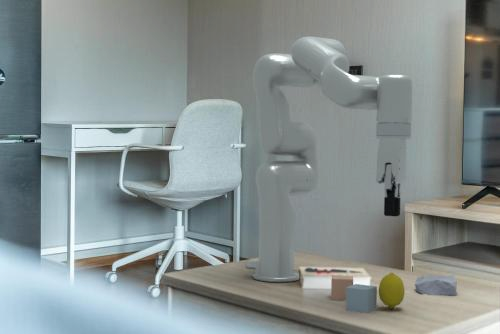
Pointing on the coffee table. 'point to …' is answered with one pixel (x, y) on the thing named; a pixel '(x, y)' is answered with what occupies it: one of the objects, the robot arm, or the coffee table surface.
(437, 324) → the coffee table surface
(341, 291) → the terracotta block
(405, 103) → the robot arm
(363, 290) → the slate block
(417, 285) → the stone block
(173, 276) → the coffee table surface
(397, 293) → the lemon
